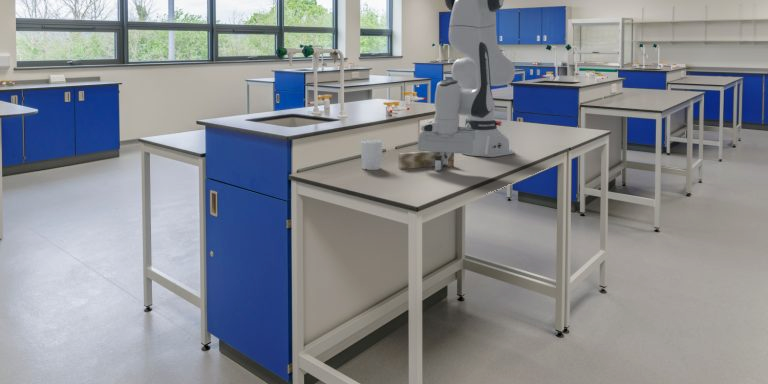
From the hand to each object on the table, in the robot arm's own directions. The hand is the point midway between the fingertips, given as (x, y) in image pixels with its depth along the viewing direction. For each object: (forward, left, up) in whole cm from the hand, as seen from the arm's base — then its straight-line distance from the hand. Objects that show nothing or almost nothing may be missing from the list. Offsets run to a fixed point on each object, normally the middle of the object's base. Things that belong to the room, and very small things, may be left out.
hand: (445, 164), depth 223 cm
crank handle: (0, -4, -2) cm, 4 cm away
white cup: (+22, -14, -2) cm, 27 cm away
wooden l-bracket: (+3, -8, -2) cm, 9 cm away
